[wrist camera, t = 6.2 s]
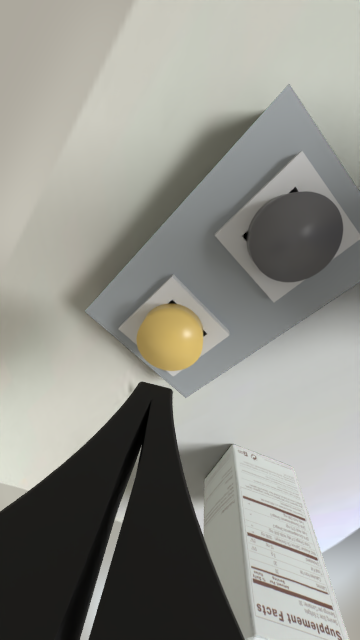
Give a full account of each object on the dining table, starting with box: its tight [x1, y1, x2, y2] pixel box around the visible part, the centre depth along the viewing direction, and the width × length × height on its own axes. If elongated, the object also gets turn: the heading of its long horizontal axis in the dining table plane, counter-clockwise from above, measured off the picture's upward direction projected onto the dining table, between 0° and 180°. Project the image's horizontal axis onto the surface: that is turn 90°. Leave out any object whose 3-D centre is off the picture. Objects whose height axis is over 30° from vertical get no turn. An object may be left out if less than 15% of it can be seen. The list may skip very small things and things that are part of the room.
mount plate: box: [85, 84, 360, 398], centre depth 16 cm, size 10×16×4 cm, turn 135°
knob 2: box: [247, 191, 343, 282], centre depth 13 cm, size 4×4×5 cm
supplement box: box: [204, 444, 349, 640], centre depth 21 cm, size 7×7×13 cm
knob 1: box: [136, 300, 203, 371], centre depth 16 cm, size 4×4×5 cm
